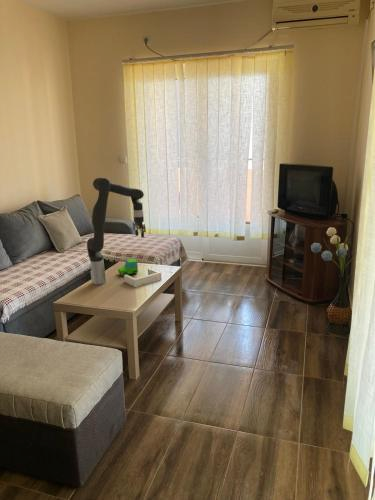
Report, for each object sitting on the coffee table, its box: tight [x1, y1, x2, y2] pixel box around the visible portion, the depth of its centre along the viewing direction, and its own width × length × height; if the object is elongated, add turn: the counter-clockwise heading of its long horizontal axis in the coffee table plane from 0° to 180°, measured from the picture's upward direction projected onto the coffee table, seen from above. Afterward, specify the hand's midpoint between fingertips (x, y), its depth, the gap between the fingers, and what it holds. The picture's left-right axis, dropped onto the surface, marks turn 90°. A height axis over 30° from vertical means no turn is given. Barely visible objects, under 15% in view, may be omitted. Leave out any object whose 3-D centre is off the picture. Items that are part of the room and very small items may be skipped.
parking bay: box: [123, 268, 162, 288], centre depth 286 cm, size 22×15×5 cm
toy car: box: [117, 258, 139, 276], centre depth 302 cm, size 10×13×10 cm
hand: (139, 236), depth 306 cm, fingers open, 8 cm apart
